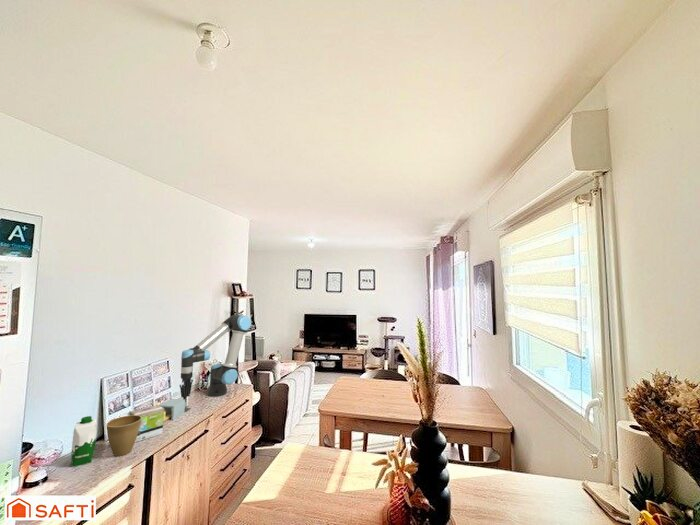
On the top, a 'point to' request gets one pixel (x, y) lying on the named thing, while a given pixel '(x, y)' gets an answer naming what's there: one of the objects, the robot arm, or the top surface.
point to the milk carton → (84, 441)
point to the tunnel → (175, 407)
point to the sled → (167, 416)
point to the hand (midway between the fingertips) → (185, 405)
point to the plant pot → (123, 433)
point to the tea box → (149, 421)
